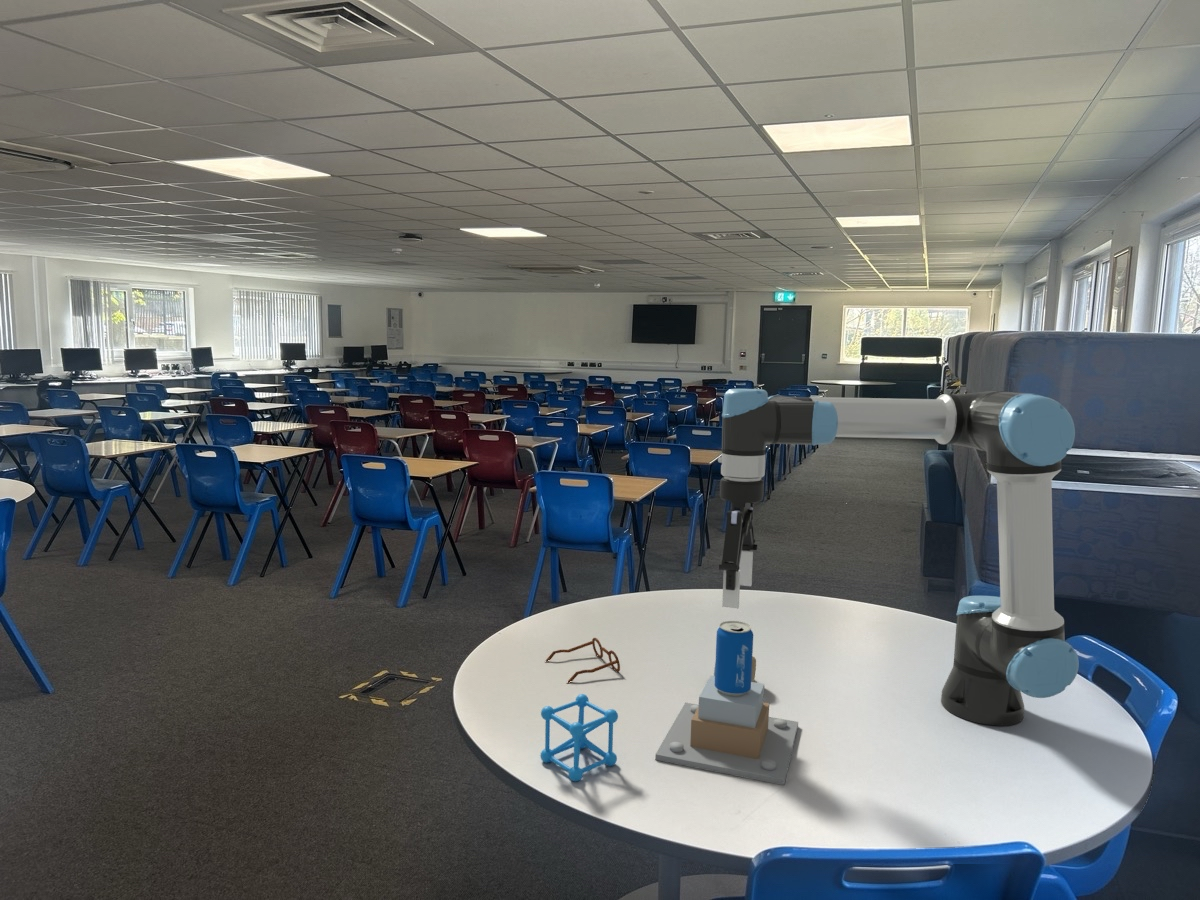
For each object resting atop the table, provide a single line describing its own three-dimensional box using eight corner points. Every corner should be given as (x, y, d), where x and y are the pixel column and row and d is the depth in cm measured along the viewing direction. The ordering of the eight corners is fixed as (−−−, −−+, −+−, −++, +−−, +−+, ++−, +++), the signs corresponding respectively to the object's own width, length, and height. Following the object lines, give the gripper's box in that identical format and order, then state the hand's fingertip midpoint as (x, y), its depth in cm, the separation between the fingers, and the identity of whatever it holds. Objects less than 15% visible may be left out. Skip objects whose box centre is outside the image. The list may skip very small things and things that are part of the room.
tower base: (797, 726, 152) (800, 676, 151) (784, 785, 132) (787, 727, 131) (685, 707, 160) (686, 659, 158) (655, 759, 139) (657, 705, 138)
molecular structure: (581, 743, 145) (582, 690, 143) (619, 765, 137) (621, 710, 136) (537, 761, 138) (538, 706, 137) (574, 785, 131) (575, 727, 129)
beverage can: (723, 699, 141) (726, 633, 139) (708, 684, 147) (711, 621, 145) (756, 696, 142) (760, 631, 141) (740, 681, 148) (743, 618, 147)
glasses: (621, 676, 175) (621, 654, 175) (566, 686, 170) (567, 663, 169) (595, 654, 187) (595, 634, 186) (543, 663, 181) (543, 642, 181)
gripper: (733, 466, 152) (729, 574, 155) (705, 487, 129) (701, 614, 132) (773, 469, 150) (768, 579, 153) (752, 491, 127) (747, 620, 129)
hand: (737, 595), depth 142 cm, fingers open, 13 cm apart
